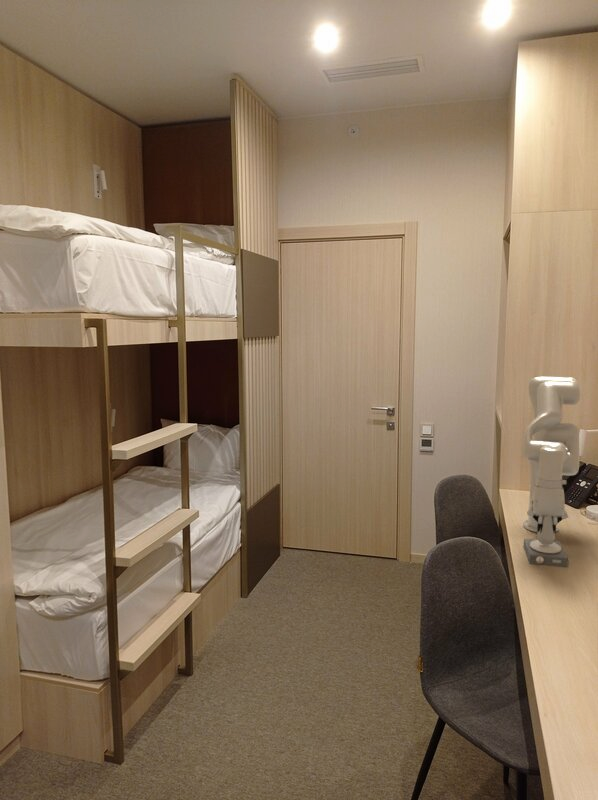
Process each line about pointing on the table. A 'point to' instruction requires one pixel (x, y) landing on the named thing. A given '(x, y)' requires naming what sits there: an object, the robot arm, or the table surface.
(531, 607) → the table surface
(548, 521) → the salt shaker
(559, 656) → the table surface
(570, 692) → the table surface
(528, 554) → the scale
